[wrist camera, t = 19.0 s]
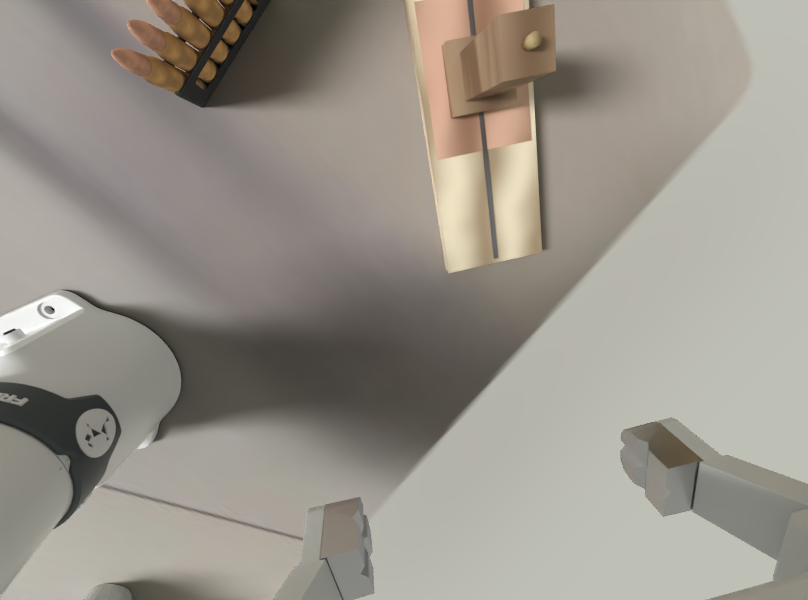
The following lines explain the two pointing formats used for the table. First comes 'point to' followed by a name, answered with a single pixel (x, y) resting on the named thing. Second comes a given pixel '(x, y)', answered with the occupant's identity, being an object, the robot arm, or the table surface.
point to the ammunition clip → (214, 45)
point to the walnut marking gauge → (499, 60)
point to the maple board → (475, 145)
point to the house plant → (109, 593)
